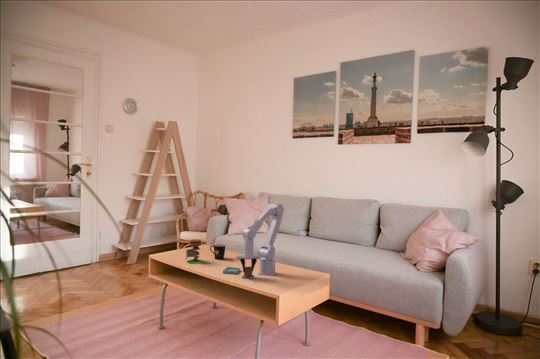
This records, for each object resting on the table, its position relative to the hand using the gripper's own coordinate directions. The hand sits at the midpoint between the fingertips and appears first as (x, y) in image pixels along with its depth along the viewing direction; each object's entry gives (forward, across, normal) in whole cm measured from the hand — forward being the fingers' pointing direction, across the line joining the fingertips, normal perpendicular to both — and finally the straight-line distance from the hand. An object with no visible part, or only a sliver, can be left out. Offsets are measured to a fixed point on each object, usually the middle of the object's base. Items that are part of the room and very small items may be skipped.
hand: (248, 271), depth 214 cm
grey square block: (+3, 0, 0) cm, 3 cm away
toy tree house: (+4, +30, -41) cm, 51 cm away
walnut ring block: (+3, 0, 0) cm, 3 cm away
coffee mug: (+4, +13, -49) cm, 51 cm away
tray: (+3, +8, -13) cm, 16 cm away
